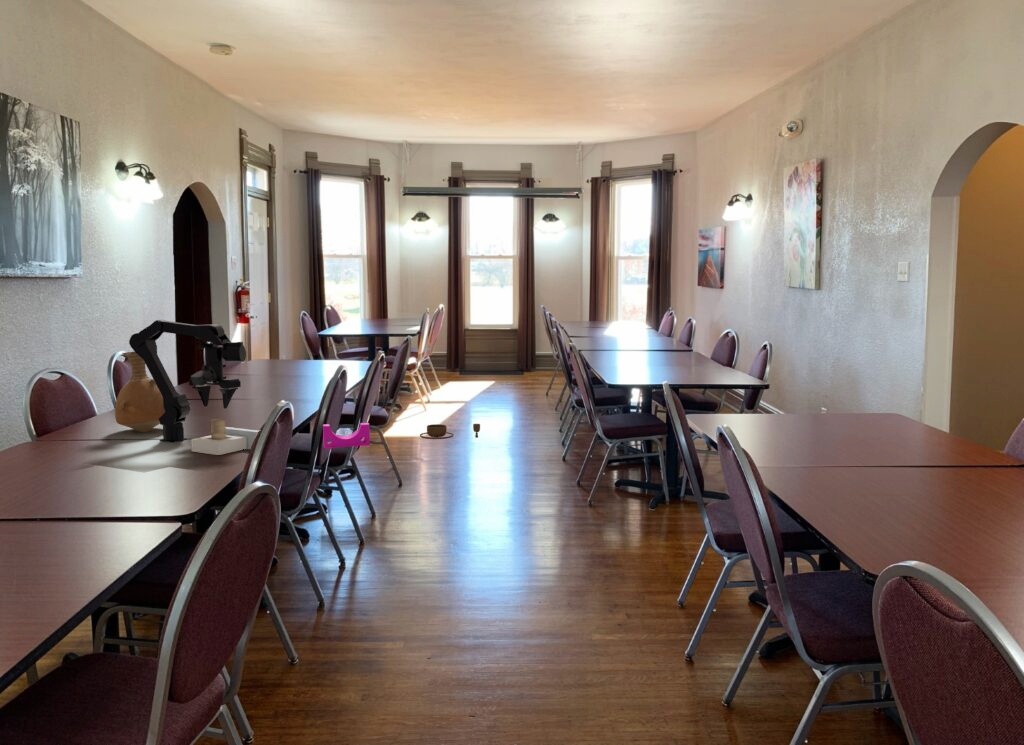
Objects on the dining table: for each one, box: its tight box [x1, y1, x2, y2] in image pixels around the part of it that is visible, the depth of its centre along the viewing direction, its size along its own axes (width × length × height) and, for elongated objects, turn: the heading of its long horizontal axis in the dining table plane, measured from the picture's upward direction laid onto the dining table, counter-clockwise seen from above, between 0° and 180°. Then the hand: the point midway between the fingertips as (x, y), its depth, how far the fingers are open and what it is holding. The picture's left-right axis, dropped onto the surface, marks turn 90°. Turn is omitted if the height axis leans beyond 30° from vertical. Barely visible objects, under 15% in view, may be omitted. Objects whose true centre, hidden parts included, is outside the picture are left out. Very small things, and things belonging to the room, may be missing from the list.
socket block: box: [190, 434, 248, 456], centre depth 282 cm, size 12×12×4 cm
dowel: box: [210, 418, 227, 440], centre depth 282 cm, size 4×4×9 cm
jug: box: [114, 351, 165, 433], centre depth 312 cm, size 20×19×30 cm
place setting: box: [419, 423, 481, 440], centre depth 305 cm, size 18×20×6 cm
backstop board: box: [225, 426, 260, 450], centre depth 289 cm, size 20×2×6 cm, turn 62°
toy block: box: [322, 422, 371, 449], centre depth 293 cm, size 15×6×8 cm, turn 105°
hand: (215, 407), depth 296 cm, fingers open, 9 cm apart
